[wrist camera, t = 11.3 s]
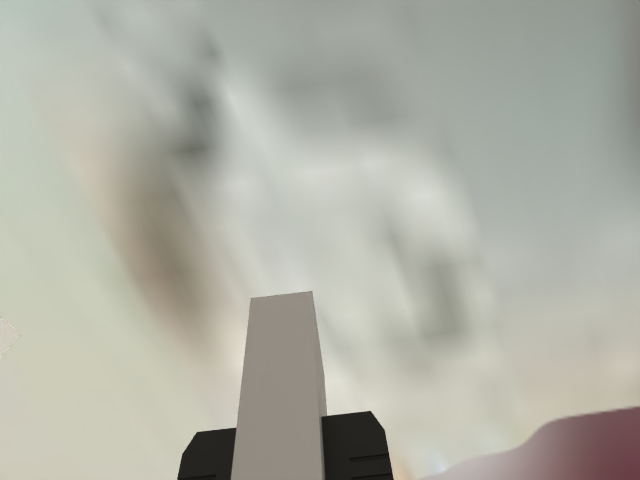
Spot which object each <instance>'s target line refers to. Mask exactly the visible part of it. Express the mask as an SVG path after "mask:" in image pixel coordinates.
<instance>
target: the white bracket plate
mask: <svg viewBox="0 0 640 480" xmlns="http://www.w3.org/2000/svg"><path fill="white" fill-rule="evenodd" d="M20 335H21V334H20V333H18V332H17V331H16V330H15V329H14V328H13V327H12V326H11V325H10V324H9V323H8V322H7V321H6V320H5V319H4V318H3V317H1V318H0V357H1V356H2V355H3V354H4V353H5V352H6V351H7V350H8V348H9V347H10V346H11V345H12V344H13V343H14V342H15V341H16V340H17V339H18V337H19V336H20Z"/></svg>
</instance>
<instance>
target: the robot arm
mask: <svg viewBox="0 0 640 480" xmlns="http://www.w3.org/2000/svg"><path fill="white" fill-rule="evenodd" d="M177 479H178V480H394V479H393V474H392V468H391V462H390V458H389V451H388V446H387V441H386V435H385V430H384V429H383V427H382V426H381V425H380V423H379V422H378V420H377V419H376V418H375V416H374V415H373V414H372V412H371V411H367V412H358V413H349V414H340V415H331V416H327V408H326V394H325V379H324V370H323V363H322V356H321V349H320V342H319V335H318V328H317V322H316V315H315V308H314V301H313V294H312V291H309V292H300V293H292V294H283V295H275V296H266V297H258V298H251V302H250V311H249V320H248V329H247V338H246V347H245V356H244V365H243V374H242V384H241V393H240V402H239V411H238V420H237V428H229V429H221V430H212V431H203V432H197V433H196V434H195V436H194V437H193V439H192V440H191V442H190V444H189V445H188V447H187V448H186V450H185V451H184V453H183V454H182V459H181V464H180V468H179V473H178V478H177Z"/></svg>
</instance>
